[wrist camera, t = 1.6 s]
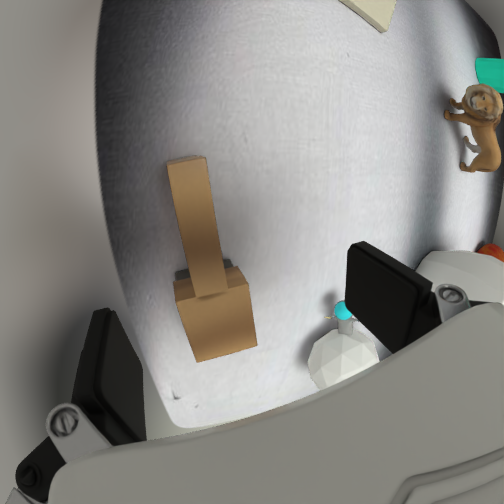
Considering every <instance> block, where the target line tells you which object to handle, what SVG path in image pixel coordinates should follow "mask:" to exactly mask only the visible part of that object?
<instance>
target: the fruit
mask: <svg viewBox="0 0 504 504" xmlns="http://www.w3.org/2000/svg"><path fill="white" fill-rule="evenodd" d="M477 253H480V254H484V255H489V256H493V257H495V258H497V259H498V260H500V261H502V262H504V252H503V251H502V249H501V248H500V247H498V246H497V245H495V244H486V245H484V246H483V247H482V248H481V249H479V250H478V251H477Z"/></svg>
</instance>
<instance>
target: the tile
mask: <svg viewBox="0 0 504 504" xmlns="http://www.w3.org/2000/svg"><path fill="white" fill-rule="evenodd" d="M339 1H341V2H342V3H344V4H345V5H347V6H348V7H349V8H351V9H352V10H353V11H355V12H356V13H357V14H359V15H360V16H361V17H363V18H364V19H365V20H366V21H368V22H369V23H370V24H371V25H373V26H374V27H375V28H376V29H377V30H378V31H380V32H381V33H383V32H387V31H388V28H389V25H390V22H391V18H392V15H393V12H394V8H395V5H396V1H397V0H339Z"/></svg>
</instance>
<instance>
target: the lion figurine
mask: <svg viewBox="0 0 504 504" xmlns="http://www.w3.org/2000/svg"><path fill="white" fill-rule="evenodd" d="M450 104H451V106H452V107H453V108H456V109H458V110H464V112H465V113H462V114H454V113H450V112H449V111H448V110H446V111H445V113H444V117H445V118H446V119H447V120H450V121H459V122H463V123H465V124H467V125H470V126H471V131H472V135H473V137H474V139H475V141H476V143H477V145H472V144H471V143H470V142H469V139H468V137H467V136H465V137H464V144H465V145H466V146H467V147H468V148H469V149H470V150H471V151H472V152H474V153H479V154H478V155H477V156H476V157H475V158H474V159H473V161H472V163H471V165H470V166H469V167H467V166H466V164H465V162H461V164H460V169H461V170H462V171H466V172H475V171H481V172H492V171H495V170H496V169H497V168H498V167H499V165H500V162H501V151H500V148H499V145H498V142H497V139H496V135H495V130H496V127H497V125H498V124H499V123H500V117H501V113H502V110H503V103H502V99H501V97H500V94H499V93H498V92H497V91H496V90H495V89H494V88H493V87H491V86H488V85H486V84H479V85H472V86H469V87H468V88H467V89H466V94H465V95H464V97H463V98H462V102H460V103H456V101H455V100H454V99H453V98H451V99H450Z"/></svg>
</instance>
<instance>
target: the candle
mask: <svg viewBox="0 0 504 504" xmlns="http://www.w3.org/2000/svg"><path fill="white" fill-rule="evenodd" d="M475 69H476V73H477V78H478V80H479V83H480V84H486V85H488V86H491V87H493V88H494V89H495V90H496V91H497V92H499V93H504V59H494V58H477V59H476V61H475Z"/></svg>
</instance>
